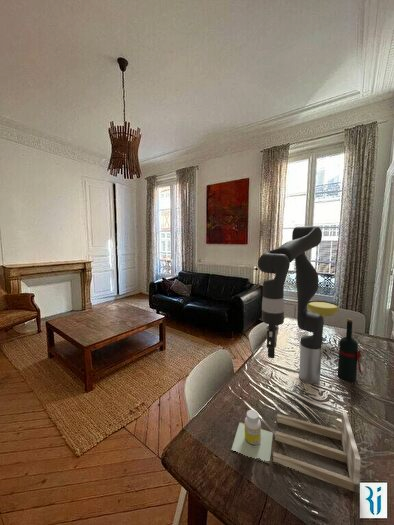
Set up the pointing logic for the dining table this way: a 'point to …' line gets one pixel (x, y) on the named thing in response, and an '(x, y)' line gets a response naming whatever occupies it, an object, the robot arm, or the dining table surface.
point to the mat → (255, 452)
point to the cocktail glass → (323, 309)
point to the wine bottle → (348, 356)
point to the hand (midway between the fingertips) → (272, 351)
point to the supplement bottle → (252, 429)
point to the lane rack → (322, 451)
